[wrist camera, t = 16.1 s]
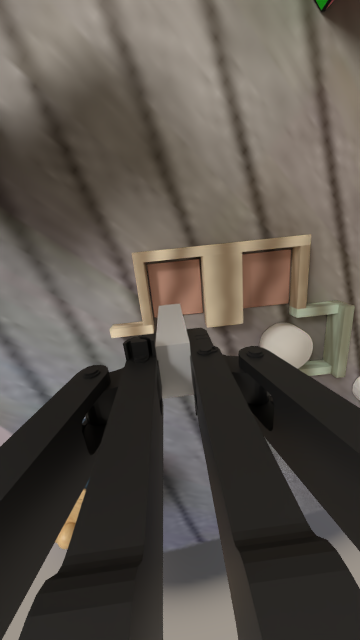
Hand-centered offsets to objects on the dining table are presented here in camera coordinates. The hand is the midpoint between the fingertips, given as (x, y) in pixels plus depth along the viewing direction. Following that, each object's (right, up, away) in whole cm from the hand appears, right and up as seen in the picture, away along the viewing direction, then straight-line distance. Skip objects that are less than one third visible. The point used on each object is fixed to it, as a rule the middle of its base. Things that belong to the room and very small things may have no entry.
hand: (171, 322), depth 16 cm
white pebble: (+19, -4, +26) cm, 33 cm away
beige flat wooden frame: (+9, +1, +24) cm, 25 cm away
